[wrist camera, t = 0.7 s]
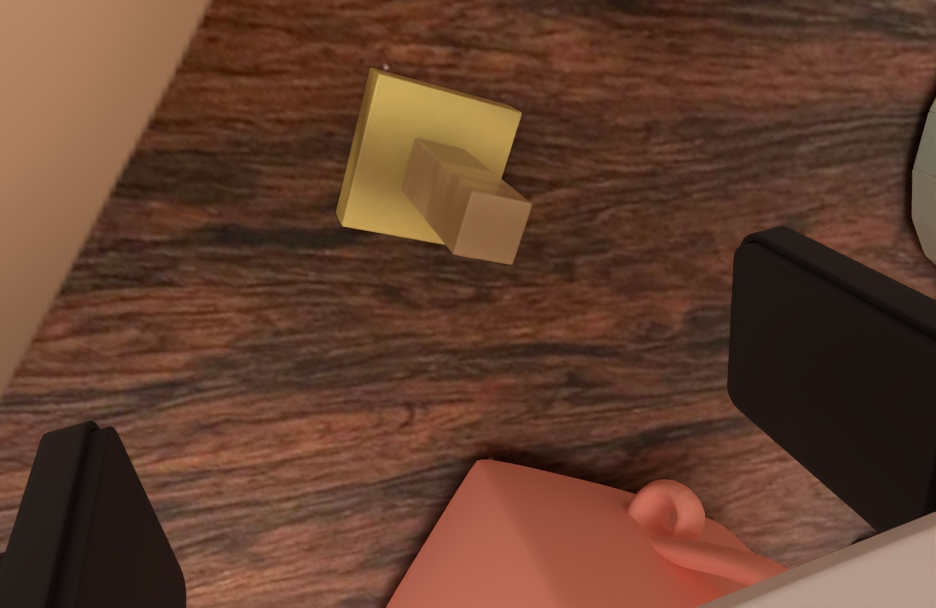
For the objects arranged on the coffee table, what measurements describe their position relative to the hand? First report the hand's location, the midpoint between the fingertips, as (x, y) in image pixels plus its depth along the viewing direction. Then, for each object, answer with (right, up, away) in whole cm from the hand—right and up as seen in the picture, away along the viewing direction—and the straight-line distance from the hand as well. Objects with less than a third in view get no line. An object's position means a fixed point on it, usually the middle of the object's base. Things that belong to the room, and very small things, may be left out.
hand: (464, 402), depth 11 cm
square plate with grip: (-2, +7, +17) cm, 19 cm away
